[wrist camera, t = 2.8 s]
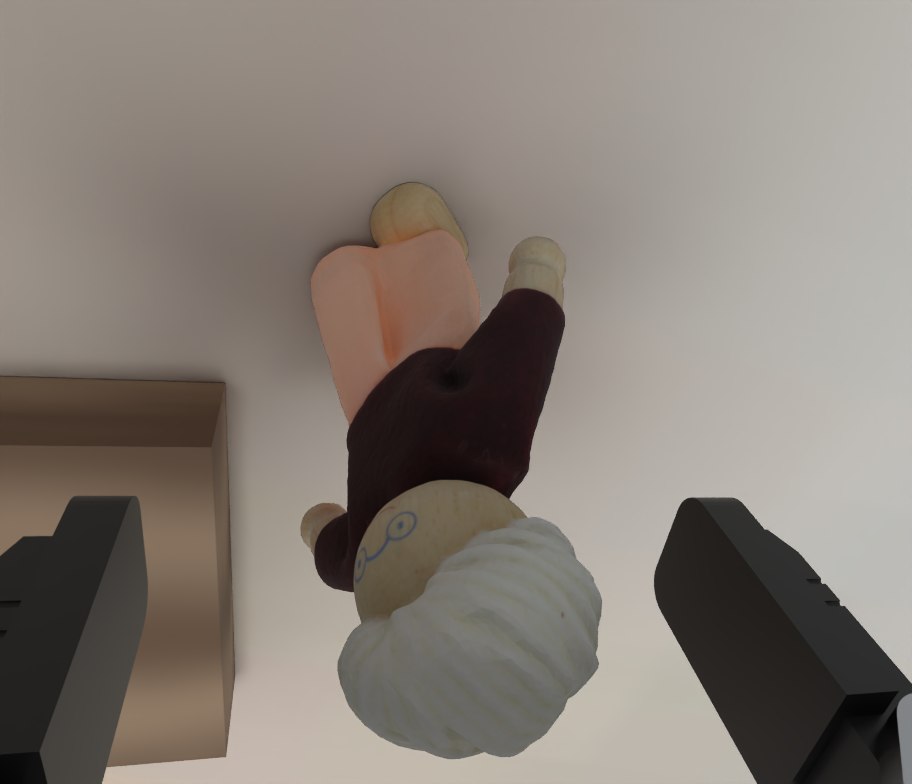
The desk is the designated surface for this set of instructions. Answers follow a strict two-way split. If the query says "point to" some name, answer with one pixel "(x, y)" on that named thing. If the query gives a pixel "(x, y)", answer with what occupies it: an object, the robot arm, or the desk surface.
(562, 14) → the desk surface
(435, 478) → the grandmother figurine
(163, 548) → the walnut plinth
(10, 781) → the robot arm
